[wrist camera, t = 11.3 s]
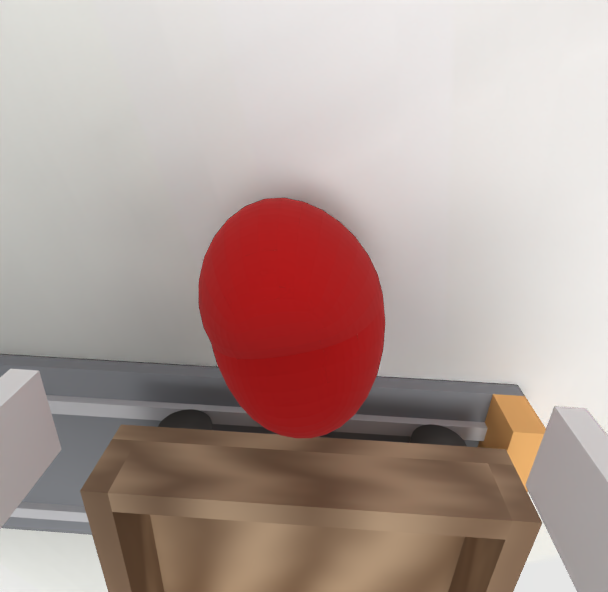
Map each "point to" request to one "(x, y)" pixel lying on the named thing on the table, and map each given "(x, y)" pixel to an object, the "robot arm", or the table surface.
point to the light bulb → (292, 316)
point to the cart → (305, 512)
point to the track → (239, 420)
